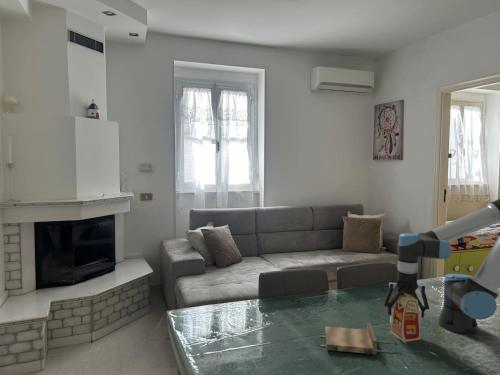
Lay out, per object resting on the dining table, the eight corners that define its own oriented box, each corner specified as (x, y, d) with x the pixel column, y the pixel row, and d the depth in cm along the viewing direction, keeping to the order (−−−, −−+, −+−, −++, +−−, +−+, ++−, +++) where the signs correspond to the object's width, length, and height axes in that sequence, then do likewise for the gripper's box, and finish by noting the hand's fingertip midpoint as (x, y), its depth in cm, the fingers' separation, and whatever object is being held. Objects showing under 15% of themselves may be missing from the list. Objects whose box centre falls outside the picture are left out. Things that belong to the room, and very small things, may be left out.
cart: (369, 334, 152) (370, 322, 152) (376, 355, 135) (377, 341, 135) (325, 330, 155) (325, 318, 155) (326, 350, 138) (327, 337, 138)
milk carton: (403, 341, 147) (405, 292, 146) (389, 331, 156) (390, 285, 155) (422, 339, 149) (424, 291, 148) (407, 329, 158) (409, 284, 157)
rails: (396, 342, 146) (396, 342, 146) (401, 354, 137) (401, 353, 137) (319, 336, 151) (319, 335, 151) (320, 346, 143) (320, 345, 143)
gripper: (433, 270, 153) (431, 322, 154) (377, 267, 157) (375, 317, 158) (440, 275, 146) (437, 330, 147) (380, 271, 150) (378, 325, 151)
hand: (405, 323), depth 153 cm, fingers closed on milk carton, 10 cm apart
